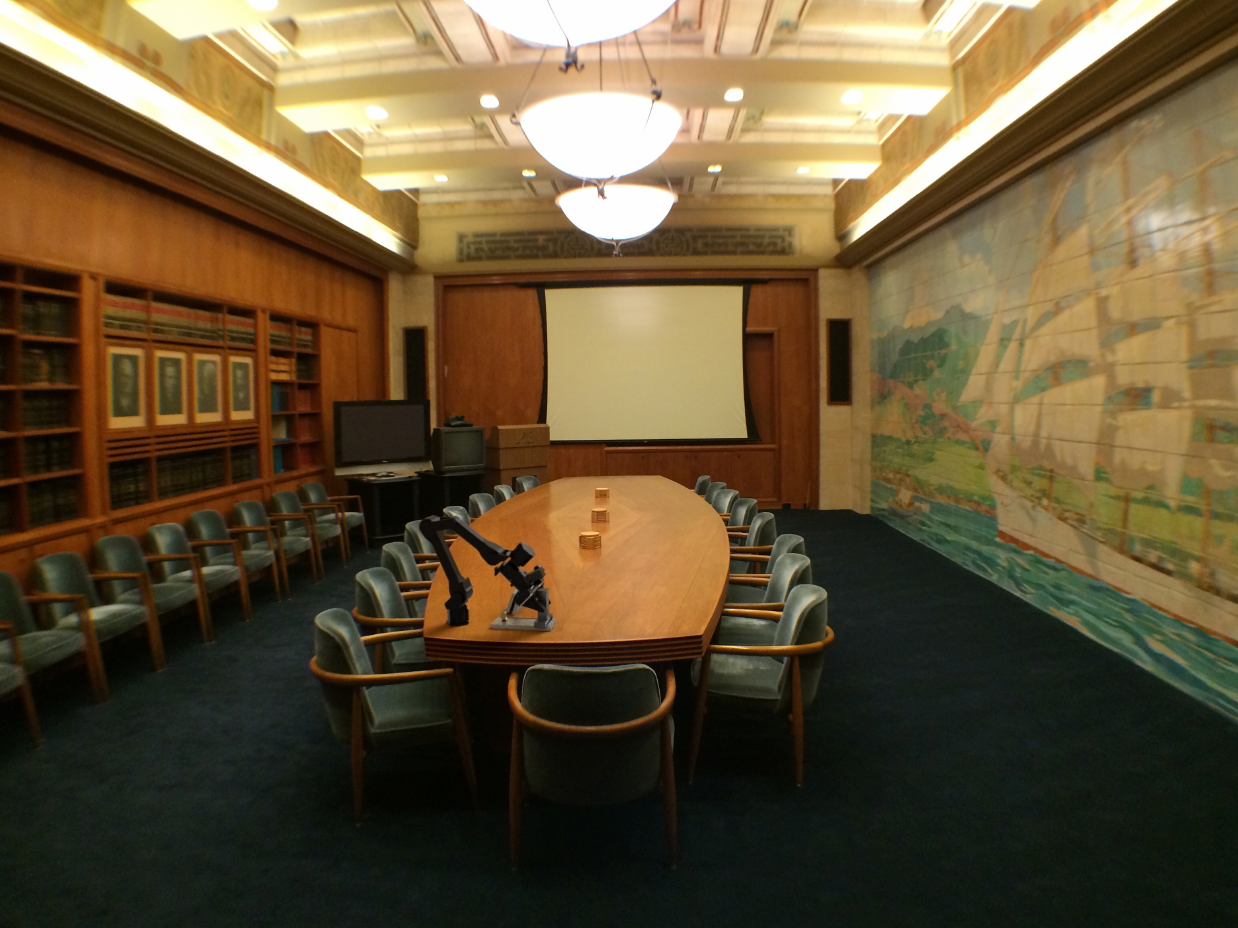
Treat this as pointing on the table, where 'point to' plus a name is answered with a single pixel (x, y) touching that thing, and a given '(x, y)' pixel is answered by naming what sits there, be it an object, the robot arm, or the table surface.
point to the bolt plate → (519, 623)
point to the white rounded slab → (513, 604)
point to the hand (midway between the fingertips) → (547, 607)
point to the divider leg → (544, 601)
